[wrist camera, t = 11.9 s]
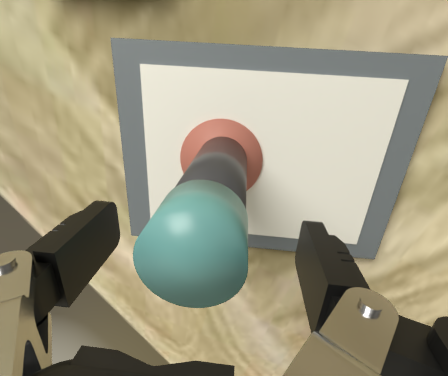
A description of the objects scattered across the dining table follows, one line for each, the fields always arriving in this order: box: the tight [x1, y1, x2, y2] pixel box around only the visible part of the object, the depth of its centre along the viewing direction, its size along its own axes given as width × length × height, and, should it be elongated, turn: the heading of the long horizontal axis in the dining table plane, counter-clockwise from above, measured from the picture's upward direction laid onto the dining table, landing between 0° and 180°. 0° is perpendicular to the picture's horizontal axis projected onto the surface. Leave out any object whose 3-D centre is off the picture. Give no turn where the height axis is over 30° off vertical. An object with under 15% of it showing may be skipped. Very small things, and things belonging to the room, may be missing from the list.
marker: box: [133, 137, 248, 308], centre depth 14 cm, size 4×4×12 cm
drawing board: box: [111, 38, 448, 259], centre depth 20 cm, size 22×16×1 cm
